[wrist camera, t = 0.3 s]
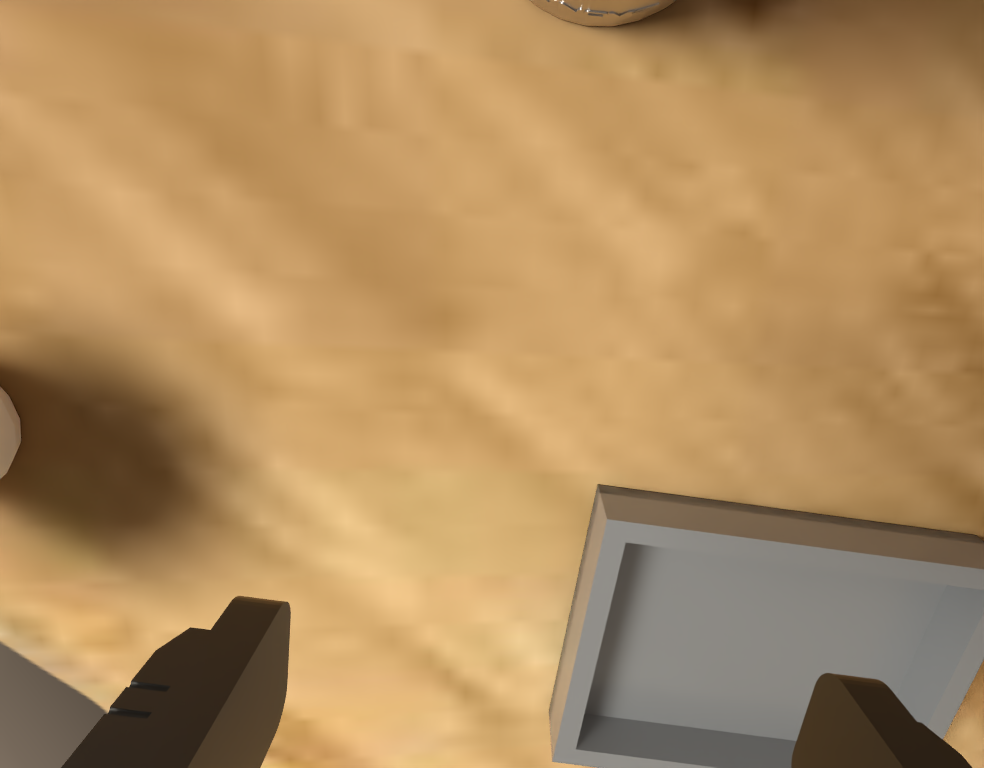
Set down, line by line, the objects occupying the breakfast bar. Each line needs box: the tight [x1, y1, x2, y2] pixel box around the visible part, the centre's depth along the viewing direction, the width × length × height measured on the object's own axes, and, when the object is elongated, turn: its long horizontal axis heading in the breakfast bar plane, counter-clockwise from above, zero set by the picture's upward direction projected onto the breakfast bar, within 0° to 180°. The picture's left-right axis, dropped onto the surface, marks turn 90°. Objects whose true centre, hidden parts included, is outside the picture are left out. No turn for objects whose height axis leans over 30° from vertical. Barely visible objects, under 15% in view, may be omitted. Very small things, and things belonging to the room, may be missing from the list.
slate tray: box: [549, 485, 984, 768], centre depth 29 cm, size 14×18×3 cm
